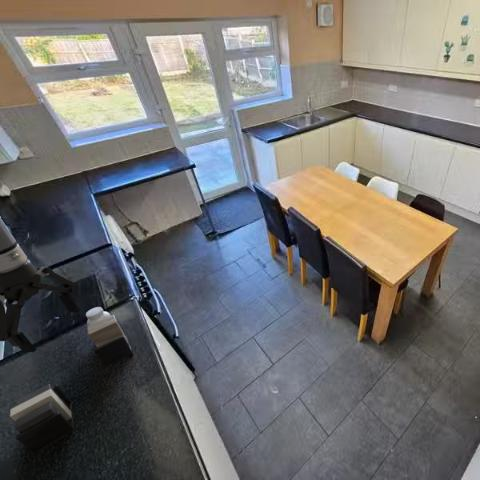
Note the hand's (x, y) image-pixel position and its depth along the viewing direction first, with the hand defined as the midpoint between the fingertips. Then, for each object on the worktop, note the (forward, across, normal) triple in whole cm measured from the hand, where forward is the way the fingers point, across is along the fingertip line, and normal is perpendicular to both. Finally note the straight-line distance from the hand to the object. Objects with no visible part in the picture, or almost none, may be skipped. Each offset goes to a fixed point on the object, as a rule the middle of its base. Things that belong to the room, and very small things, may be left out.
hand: (54, 329), depth 74 cm
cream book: (+23, -13, 0) cm, 26 cm away
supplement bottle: (+24, +18, +8) cm, 31 cm away
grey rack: (+24, -13, 0) cm, 27 cm away
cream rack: (+24, +11, 0) cm, 26 cm away
